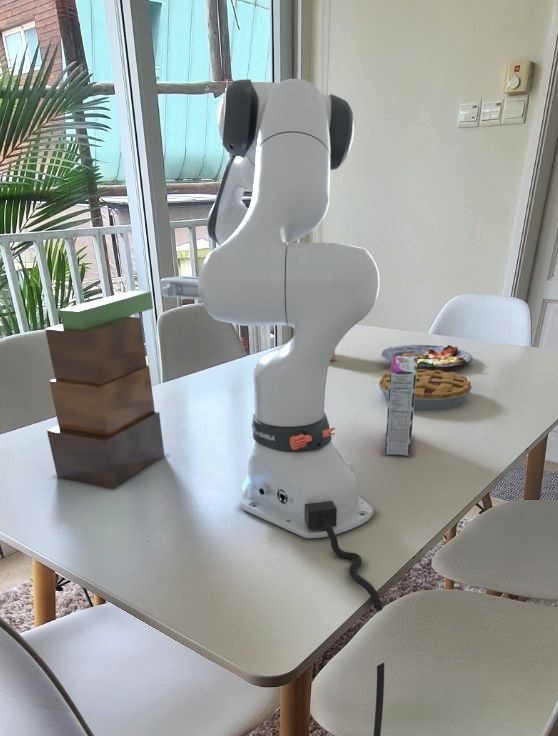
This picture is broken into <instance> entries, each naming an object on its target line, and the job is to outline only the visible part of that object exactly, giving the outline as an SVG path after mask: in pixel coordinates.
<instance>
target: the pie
mask: <svg viewBox="0 0 558 736" xmlns="http://www.w3.org/2000/svg"><path fill="white" fill-rule="evenodd" d="M467 378H468V377H466V376H465V375H458V373H457V372H455V371H450V372H449V371H448V372H446V371H443V369H437V368H436V369H434V370H428V369H426V368H419V369H417V376H416V389H415V401H414V410H417V411H443V410H450V409H454V408H456V407H458V406H460V405H461V404H462V402H463V400H464V399H465V398H466V396H468V395H470V393H471V390H472V389H473V386H472V384H471V381H470V380H468V379H467ZM389 382H390V372H389V374H388V373H384V374H383V375H382V376H381V379H380V380H379V381H378V383H377V384H378V388H379V390H380V391H381V392H382V394H383V397H384V399H385V401H386V402H387V403H388V397H389Z"/></svg>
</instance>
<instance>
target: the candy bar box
mask: <svg viewBox="0 0 558 736" xmlns="http://www.w3.org/2000/svg"><path fill="white" fill-rule="evenodd" d="M417 370H418V367H417V357H414V356H393V358H392V361H391V366H390V370H389V373H390V382H389V397H388V402H387V415H386V432H385V447H384V448H385V451H384V454H385V455H386V456H395V457H396V456H399V457H410V454H411V445H412V435H413V422H414V414H415V413H414V412H415V409H414V401H415V389H416V376H417Z"/></svg>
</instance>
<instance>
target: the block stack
mask: <svg viewBox="0 0 558 736" xmlns="http://www.w3.org/2000/svg"><path fill="white" fill-rule="evenodd" d="M142 325H143V324H142V317H137V316H127V317H124V318H121V319H117V320H114V321H111V322H108V323H104V324H101V325H98V326H95V327H92V328H88V329H85V330H82V331H81V330H71V329H63V326H62V323H61V324H57V325H54V326H53V325H52V326H51V327H50V326H49V327H46V328H45V329H44V331H45V336H46V342H47V346H48V351H49V355H50V359H51V365H52V371H53V374H54V375H53V376H54V378H53V379H51V380H49V381H48V382H49V387H50V391H51V396H52V401H53V405H54V411H55V415H56V420H57V424H58V425H56V426H53V427H52V428H50V429H48V430H46V433H47V437H48V438H47V439H48V442H49V447H50V451H51V456H52V461H53V465H54V469H55V474H56V477H57V478H62V479H66V480H71V481H74V482H79V483H84V484H89V485H92V486H93V485H94V486H99V487H104V488H108V489H116V488H117V487H119V486H120V485H122V484H123V483H125V482H126V481H128V480H130V479H131V478H132V477H134V476H136V475H137V474H139V473H141V472H142V471H143V470H145V469H147V468H148V467H150V466H151V465H153V464H155V463H156V462H157V461H159V460H160V459H162V458H164V457H165V449H164V441H163V439H164V438H163V433H162V432H163V431H162V423H161V415H160V411H156V410H155V402H154V394H153V385H152V378H151V370H150V366H149V365H147V356H146V349H145V340H144V332H143V326H142Z"/></svg>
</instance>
